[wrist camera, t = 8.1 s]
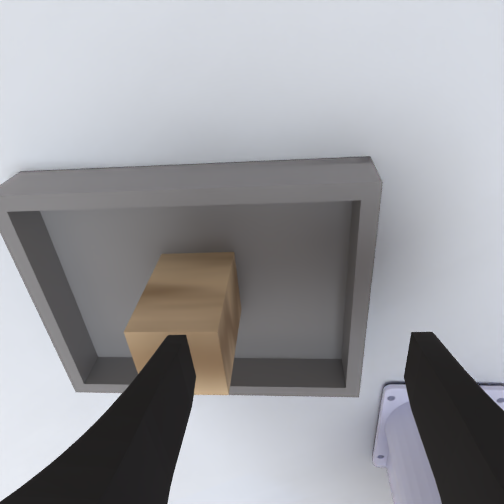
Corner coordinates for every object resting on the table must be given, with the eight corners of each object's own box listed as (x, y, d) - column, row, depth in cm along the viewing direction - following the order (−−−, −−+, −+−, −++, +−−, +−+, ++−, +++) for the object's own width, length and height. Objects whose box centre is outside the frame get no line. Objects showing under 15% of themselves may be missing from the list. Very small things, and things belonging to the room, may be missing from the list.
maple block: (241, 309, 24) (228, 395, 19) (175, 310, 24) (145, 394, 19) (234, 252, 21) (217, 331, 16) (161, 253, 22) (123, 332, 17)
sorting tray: (352, 358, 26) (358, 397, 24) (94, 356, 28) (75, 392, 25) (370, 156, 19) (382, 181, 16) (20, 171, 21) (-17, 196, 18)
